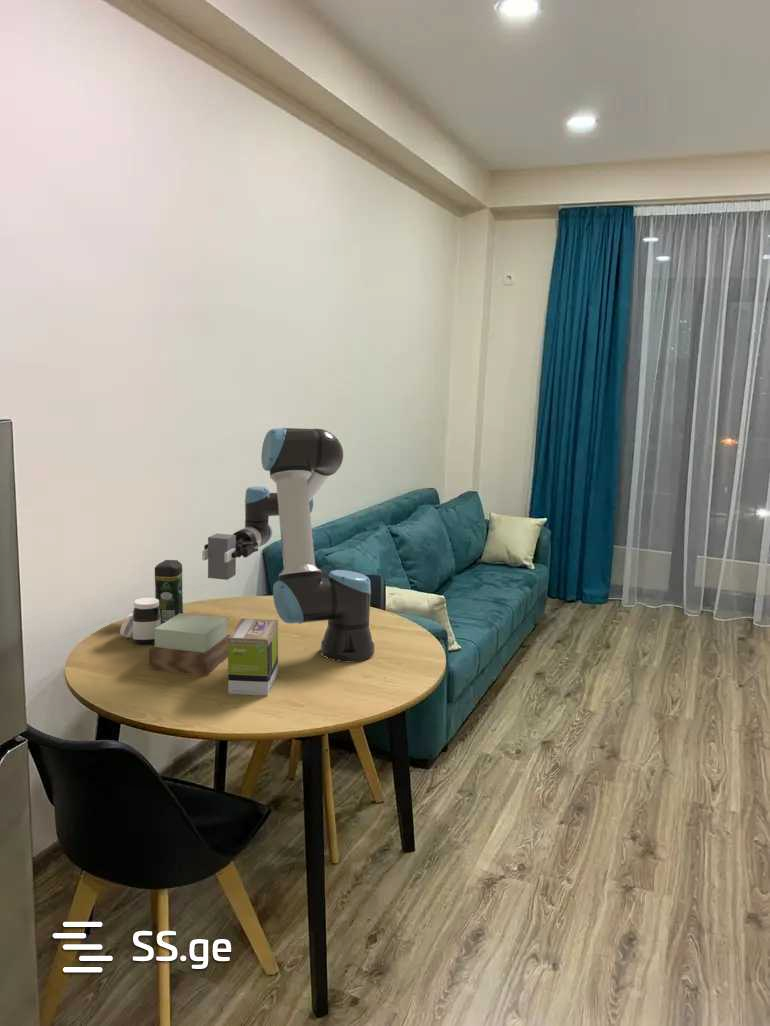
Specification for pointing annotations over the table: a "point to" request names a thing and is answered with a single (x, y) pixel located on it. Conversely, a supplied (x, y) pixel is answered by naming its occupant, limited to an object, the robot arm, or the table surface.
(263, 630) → the tea box
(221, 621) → the sage block
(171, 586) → the coffee jar
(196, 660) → the walnut block
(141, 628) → the spread jar
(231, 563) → the gray block
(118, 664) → the table surface
